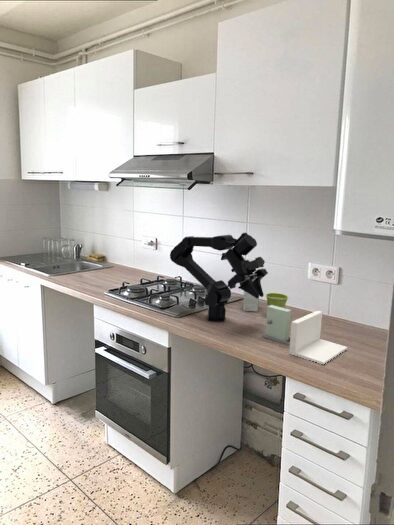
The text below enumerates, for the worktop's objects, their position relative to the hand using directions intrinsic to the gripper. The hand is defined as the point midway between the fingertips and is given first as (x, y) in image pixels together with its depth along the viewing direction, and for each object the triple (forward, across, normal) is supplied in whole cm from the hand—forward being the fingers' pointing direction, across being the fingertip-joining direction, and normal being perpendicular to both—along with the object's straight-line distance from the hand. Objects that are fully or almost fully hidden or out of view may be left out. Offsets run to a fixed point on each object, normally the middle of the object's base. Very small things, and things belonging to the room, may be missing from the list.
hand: (260, 297), depth 152 cm
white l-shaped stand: (+21, 0, -2) cm, 22 cm away
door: (+15, 0, +4) cm, 16 cm away
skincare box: (-4, +23, +23) cm, 33 cm away
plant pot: (+5, +23, +14) cm, 27 cm away
